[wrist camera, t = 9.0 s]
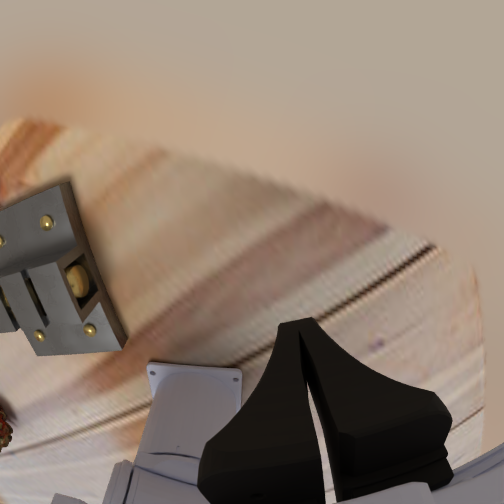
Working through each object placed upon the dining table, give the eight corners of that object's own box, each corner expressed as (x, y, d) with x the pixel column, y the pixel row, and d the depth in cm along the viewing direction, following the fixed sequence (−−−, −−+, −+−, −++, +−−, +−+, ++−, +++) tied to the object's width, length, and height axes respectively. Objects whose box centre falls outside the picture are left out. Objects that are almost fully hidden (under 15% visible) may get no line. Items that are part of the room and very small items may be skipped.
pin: (98, 291, 21) (79, 315, 18) (7, 308, 22) (-13, 327, 19) (82, 249, 20) (59, 267, 17) (-7, 275, 21) (-30, 291, 18)
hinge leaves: (127, 339, 24) (109, 374, 19) (44, 347, 24) (22, 375, 20) (69, 181, 19) (33, 193, 15) (-11, 217, 20) (-44, 233, 16)
